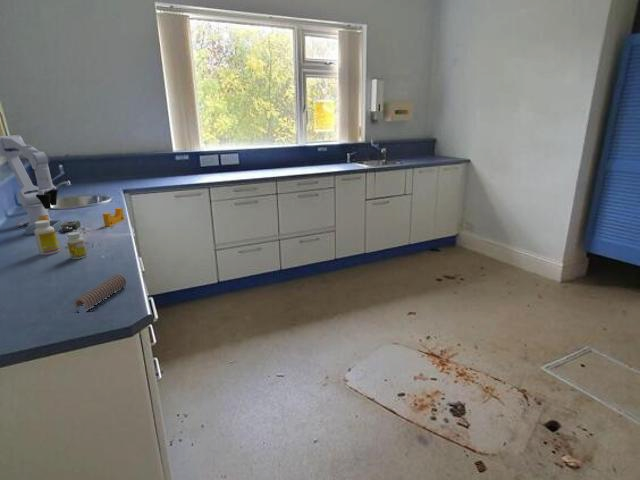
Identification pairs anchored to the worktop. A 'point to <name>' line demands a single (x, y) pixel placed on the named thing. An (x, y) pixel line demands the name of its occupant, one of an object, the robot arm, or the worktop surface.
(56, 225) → the tray
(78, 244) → the supplement bottle
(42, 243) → the supplement bottle
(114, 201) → the worktop surface
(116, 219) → the pipe clamp
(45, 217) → the orange rectangular block
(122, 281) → the coil
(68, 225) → the block
